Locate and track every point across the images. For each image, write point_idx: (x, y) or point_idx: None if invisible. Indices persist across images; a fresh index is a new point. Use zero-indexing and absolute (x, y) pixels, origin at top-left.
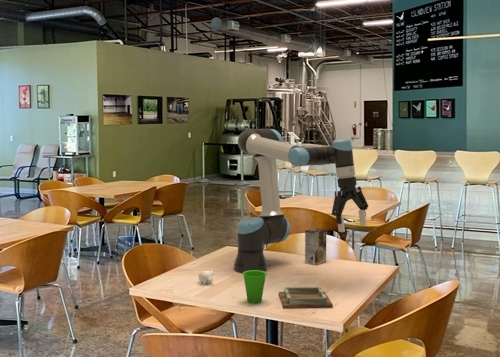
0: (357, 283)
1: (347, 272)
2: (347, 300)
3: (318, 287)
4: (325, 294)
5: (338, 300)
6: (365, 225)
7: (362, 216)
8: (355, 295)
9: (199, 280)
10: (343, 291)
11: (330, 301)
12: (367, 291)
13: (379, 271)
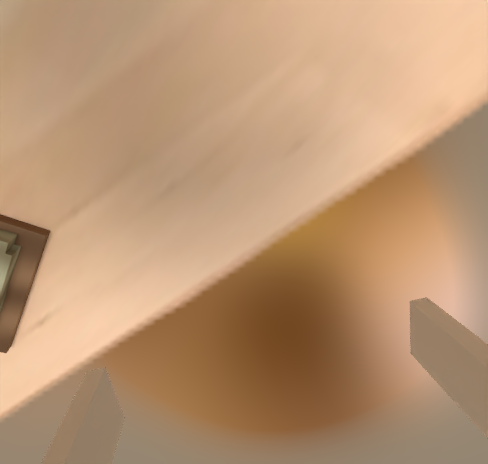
0: (253, 172)
1: (337, 5)
2: (98, 307)
3: (4, 246)
4: (31, 266)
5: (68, 298)
6: (412, 353)
7: (479, 407)
8: (154, 278)
9: None
10: (141, 229)
11: (13, 329)
12: (218, 260)
13: (448, 76)
